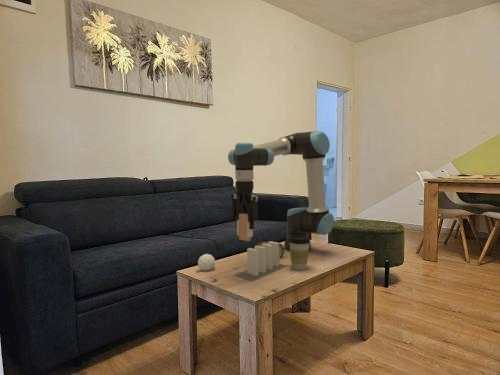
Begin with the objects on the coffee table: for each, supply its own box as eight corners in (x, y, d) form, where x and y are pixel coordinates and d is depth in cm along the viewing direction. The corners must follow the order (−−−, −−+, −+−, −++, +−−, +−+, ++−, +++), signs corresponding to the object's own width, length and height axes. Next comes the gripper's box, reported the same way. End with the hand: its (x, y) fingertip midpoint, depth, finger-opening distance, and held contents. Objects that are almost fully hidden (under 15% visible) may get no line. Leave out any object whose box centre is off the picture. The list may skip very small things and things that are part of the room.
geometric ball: (210, 275, 155) (220, 260, 156) (204, 274, 148) (215, 259, 149) (198, 265, 158) (208, 251, 159) (192, 264, 150) (202, 249, 151)
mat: (269, 262, 164) (269, 261, 164) (288, 267, 157) (288, 265, 157) (232, 277, 144) (232, 275, 144) (252, 283, 137) (252, 281, 137)
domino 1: (241, 238, 143) (241, 213, 142) (250, 240, 140) (250, 214, 139) (239, 239, 142) (238, 213, 141) (248, 241, 138) (247, 214, 138)
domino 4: (263, 266, 156) (263, 243, 155) (272, 268, 153) (272, 245, 152) (261, 267, 154) (261, 244, 154) (270, 269, 151) (270, 245, 150)
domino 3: (257, 269, 152) (257, 245, 151) (265, 271, 149) (265, 247, 148) (254, 270, 151) (254, 246, 150) (263, 272, 147) (263, 248, 146)
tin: (284, 258, 172) (284, 241, 172) (284, 259, 169) (284, 243, 168) (255, 257, 174) (254, 241, 173) (254, 259, 171) (254, 242, 170)
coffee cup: (293, 274, 148) (293, 240, 146) (285, 267, 157) (285, 235, 156) (313, 271, 151) (314, 238, 149) (304, 265, 160) (304, 234, 159)
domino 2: (250, 272, 148) (249, 247, 147) (258, 274, 145) (258, 249, 144) (247, 273, 147) (247, 248, 146) (256, 275, 144) (256, 250, 143)
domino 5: (270, 264, 160) (270, 241, 159) (279, 266, 156) (279, 242, 155) (268, 264, 158) (268, 242, 157) (276, 267, 155) (276, 243, 154)
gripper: (222, 180, 142) (223, 234, 144) (255, 181, 130) (255, 240, 132) (234, 179, 147) (235, 231, 149) (267, 180, 136) (267, 237, 138)
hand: (244, 235), depth 141 cm, fingers closed on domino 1, 5 cm apart
